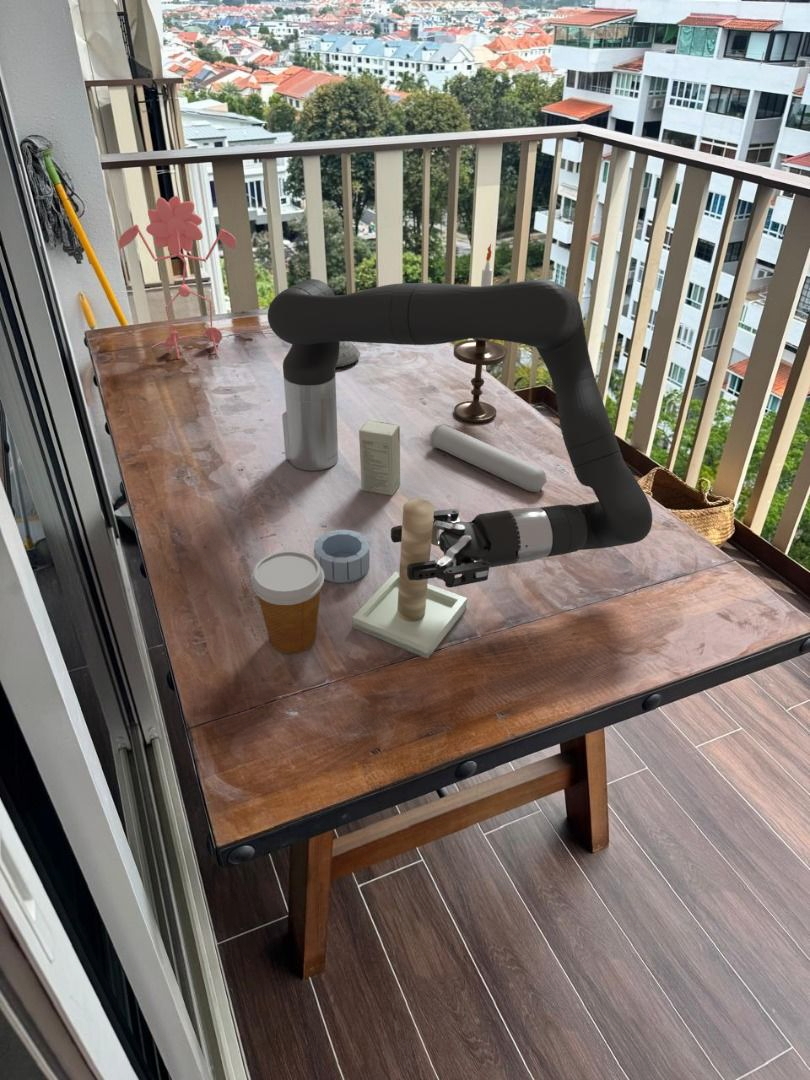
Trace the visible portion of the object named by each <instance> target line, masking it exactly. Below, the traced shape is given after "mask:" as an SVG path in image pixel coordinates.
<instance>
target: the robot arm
mask: <svg viewBox="0 0 810 1080" xmlns="http://www.w3.org/2000/svg"><path fill="white" fill-rule="evenodd" d="M267 322H268V325H269V328H270V329H271V331H273V333H274V335H276V337H278V338H279V339H281V340H282V341H283V342H285V343H288V344H291V346H290V349H289V350H288V352H287V353H286V355H285V357H284V358H283V362H282V372H283V386H284V387H283V388H284V398H285V411H284V412H283V413H282V416H281V417H282V418H281V419H282V430H283V441H284V443H283V445H284V455H285V460H287V461H289V462H290V463H291V465H293V467H295V468H296V469H300V470H303V471H309V472H310V471H311V472H312V471H315V472H317V471H323V470H327V469H329V468H331V467H333V466H335V464H337V462H338V460H339V446H338V445H339V444H338V442H339V441H338V436H339V435H338V411H337V410H338V409H337V387H336V385H337V383H336V379H337V378H336V368H337V367H336V363H337V361H338V357H339V345H340V342H345V341H347V342H350V343H363V344H365V343H366V344H391V345H392V344H393V345H401V346H402V345H404V346H431V345H443V344H447V343H453V342H454V343H455V342H459V341H465V340H472V338H481V339H490V340H495V341H503V342H510V343H516V344H517V343H518V344H521V345H525V346H527V347H528V346H529V347H533V348H535V349H536V350H537V352H538V354H539V355H540V357H541V359H542V361H543V363H544V365H545V367H546V369H547V371H548V373H549V377H550V379H551V383H552V386H553V389H554V393H555V398H556V405H557V414H558V419H559V426H560V431H561V435H562V438H563V442H564V446H565V448H566V451H567V454H568V457H569V460H570V462H571V466H572V468H573V471H574V474H575V477H576V479H577V481H578V482H579V484H580V485H582V486H584V487H588V488H591V490H592V491H593V492H594V495H595V497H596V499H597V500H598V501H593V502H589V503H582V504H577V505H574V504H556V505H549V506H540V507H520V508H514V509H505V510H500V511H499V510H498V511H493V512H492V511H491V512H485V513H479V514H477V515H476V516H475V517H474V518H473V520H471V521H461V520H460V518H459V514H460V510H459V509H458V508H457V509H456V508H450V509H449V508H448V509H440V510H434V516H433V528H432V539H431V545H433V546H437V547H439V550H441V551H442V553H443V556H442V557H440V558H439V560H437V561H436V560H435V559H434V560H430V561H426V562H419V563H413V564H409V565H408V566H407V576H408V579H409V580H422V579H423V580H424V579H428V580H429V579H435V578H436V579H437V580H442V581H443V582H444V585H445V587H447V588H456V587H461V586H465V585H470V584H474V583H475V584H476V583H481V582H484V581H487V580H488V579H489V574H490V573H489V572H490V568H497V567H502V566H510V565H515V564H521V563H527V562H533V561H536V560H539V559H544V558H548V557H554V556H561V555H568V554H572V553H575V552H578V551H585V550H597V549H604V548H612V547H613V548H614V547H618V546H625V545H630V544H636V543H638V542H641V541H643V540H644V539H645V538H646V537H648V535H649V534H650V532H651V529H652V526H653V511H652V507H651V505H650V504H651V503H650V501H649V500H648V497H647V495H646V493H645V492H644V489H642V487H641V485H640V483H639V482H638V481H637V479H636V477H635V476H634V474H633V473H632V471H631V470H630V468H629V467H628V466H627V464H626V462H625V461H624V457H623V454H622V452H621V448H620V445H619V442H618V440H617V437H616V434H615V432H614V431H615V430H614V428H613V426H612V422H611V420H610V417H609V415H608V412H607V409H606V407H605V404H604V401H603V398H602V396H601V392H600V389H599V386H598V383H597V380H596V376H595V373H594V369H593V366H592V361H591V356H590V352H589V347H588V343H587V337H586V329H585V324H584V319H583V313H582V308H581V304H580V302H579V300H578V297H577V296H576V295H575V294H574V292H573V291H572V290H570V289H568V288H567V287H566V286H564V285H561V284H560V283H558V282H556V281H553V280H550V279H544V278H543V279H542V278H541V279H539V278H538V279H531V280H523V281H522V280H521V281H516V282H511V283H502V284H501V283H500V284H493V285H492V284H491V286H481V285H478V286H473V285H462V284H453V283H450V284H449V283H432V282H431V283H430V282H429V283H428V282H418V283H417V282H415V283H414V282H412V283H411V282H409V283H407V282H406V283H404V282H403V283H390V284H386V285H381V286H377V287H376V286H375V287H371V288H368V289H363V290H360V291H359V290H358V291H355V292H351V293H345V294H340V295H339V294H338V295H336V294H335V292H334V290H332V288H331V287H330V286H329V285H328V284H327V283H326V282H324V281H322V280H320V279H317V278H316V279H314V278H311V279H305V280H303V281H301V282H299V283H296V284H294V285H292V286H290V287H288V288H286V289H284V290H282V291H280V293H279V294H277V295H276V296H275V297H274V298H273V300H272V301H271V303H270V304H269V307H268V309H267ZM440 530H441V533H440ZM401 538H402V525H401V524H400V525H395V526H393V527H392V528H391V529H390V539H391V542H393V543H401ZM457 575H461V576H457ZM456 576H457V577H456Z"/></svg>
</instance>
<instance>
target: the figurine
mask: <svg viewBox="0 0 810 1080" xmlns="http://www.w3.org/2000/svg"><path fill="white" fill-rule="evenodd" d="M155 208H156V209H149V210H148V211H147V217H148V218H149V220H150V221H151V223H150V224H148V225H147V226H146V232H147V233H148V234H149V235H150V236H153V237H154V238H155V239H154V246H155V247H157V248H158V249H159V248H166V247H167V251H168V252H169V254H170V255H165V256H161V257H155V255H154V253H153V251H152V249H151V247H150V246H149V244H148V242H147V240H146V238H145V237H144V235H143V233H142V231H141V230H140V228H139V227H140V226H139V225H138V224H134V225H132V226H130V227H129V228H128V229H127V230H125V231H124V232H123V233H121V234H122V235H121V236H120V237H119V240H118V248H119V250H122V249H123V248H124V247H126V246H127V245H129V244H131V243H132V241H134V240H135V238H136V237H137V236H138V235H139V236H140V238H141V240H142V242H143V244H144V245H145V248H146V249H147V251H148V252H149V254H150V256H151V258H152V260H154V262H159V261H163V260H168V259H171V258H176V257H177V258H180V259H181V261H182V262H183V270H182V271H183V272H182V273H183V274H182V284H181V285H180V286H179V287H178V293H177V294H175V296H174V297H173V298H172V299H171V301H170V302H169V303H168V304H166V306H165V313H166V316H167V319H168V320H167V321H168V324H169V328H170V331H171V332H170V333H169V335H168V336H167V338H166V339H165V340H161V341H159V342H158V343H157V344H154V345H153V346H151V348H154V347H156V346H157V345H159V344H161V343H164V348H165V350H166V351H167V352H168V353H169V352H170V351H171V350H172V349H173V348H174V349H175V352H176V356H177V357H176V358H177V360H178V359H181V356H180V353H179V348H178V344H177V342H178V341H179V339H181V338H182V335H181V336H180V335H179V332H178V331H176V330H175V331H173V326H172V323H171V318H170V315H169V311H168V307H169V306H170V305H171V304H172V303H173V302H174V301H175V300H176V298H177V297H179V295H180V296H181V297H183V298H186V297H188V296H190V295H191V294H192V295H195V296H197V297H198V298H201V299H203V300H206V301H208V302H209V315H210V316H209V320H210V327H207V328H206V329H205V334H203V335H202V334H198V335H196V334H195V335H193V337H199V336H200V337H201V336H203V337H206V338H207V339H208V340H209V341H210V342H212V343H213V345H212V346H213V349H214V353H215V354H216V355H217V354H218V350H217V349H218V348H217V346H216V345H219V344H220V343H221V341H222V339H223V333H222V331H221V330H220V329H218V328H217V327H215V326H213V317H212V316H213V315H212V313H213V311H212V301H211V299H209V298H207V297H204V296H202V295H200V294H197V292H193V291H191V289H190V287H189V286H188V285H186V284H185V283H186V281H185V280H186V272H187V261H186V260H185V258H187V259H192V260H196V261H201V262H204V263H207V261H208V259H209V257H210V256H211V254H212V253H213V250H214V249H215V247H216V245H217V244H218V242H219V241H221V243H222V244H224V245H225V246H227V247H229V248H230V249H233V250H234V249H235V248H236V246H237V239H236V237H235V236H234V235H233V234H232V233H230V232H229V231H227V230H224V228H221V229H220V230H219V231H217V237H216V239H215V241H214V242H213V244H212V245H211V247H210V249H209V251H208V253H207V255H206V257H205V258H202V257H199V256H198V257H197V256H193V255H187V254H183V253H182V251H181V250H183V251H185V252H188V253H189V252H191V251H192V250H193V247H194V246H193V245H194V241H201V240H202V239H203V232H202V230H201V229H200V227H199V226H200V225H201V224H202V223H203V220H202V217H200V216H199V215H198V214H197V213H193V212H194V210H195V204H194V202H192V201H189V200H188V201H186V200H185V201H182V202H181V198H180V196H178V195H175V196H172V197H170V199H169V200H168V201H167V200H166V199H165V198H163V197H158V198H157V199H156V203H155ZM188 337H190V335H183V338H188Z"/></svg>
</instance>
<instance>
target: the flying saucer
mask: <svg viewBox="0 0 810 1080" xmlns="http://www.w3.org/2000/svg"><path fill="white" fill-rule="evenodd" d="M360 357H361V352H360V350H359V349H358V348H357V346H356V345H354V344H353V342H347V341H345V342H340V345H339V357H338V361H337V363H336V367H335V368H340V367H341V368H343V367H345V366H348V365H351V364H354V363H355V362H357V361H358V360H359V359H360Z"/></svg>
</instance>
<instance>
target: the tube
mask: <svg viewBox="0 0 810 1080" xmlns="http://www.w3.org/2000/svg"><path fill="white" fill-rule="evenodd" d="M429 446H431V447H432V448H434V449H439V450H441V451H444V452H445V453H448V454H450V455H452V456H454V457H456V458H458V459H460V460H462V461H464V462H466V463H469V464H471V465H472V466H473V465H474V466H475V467H477V468H480V469H481V470H483V471H485V472H488V473H490V474H492V475H494V476H496V477H499V478H500V479H503V480H505V481H507V482H508V483H511V484H513V485H514V486H515V485H516V486H517V487H519V488H522V489H523V490H526V491H528V492H529V493H539V492H540V491H541V489H542V488H543V487H544V485H545V484H547V474H546V471H545V469H543V468H542V467H540V466H538V465H535V464H533V463H530V462H528V461H526V460H524V459H522V458H519V457H517V456H515V455H514V454H510V453H509V452H506V451H504V450H501V448H498V447H495V446H492V445H491V444H488V443H486V442H484V441H482V440H479V439H477V438H475V437H473V436H470V435H469V434H466V433H465V432H461V431H459V430H458V429H455V428H453V427H451V426H450V425H448V424H446V423H445V422H440V423H438V424H437V425H435V426H434V428H433V430H432V431H431V433H430V439H429Z"/></svg>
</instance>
